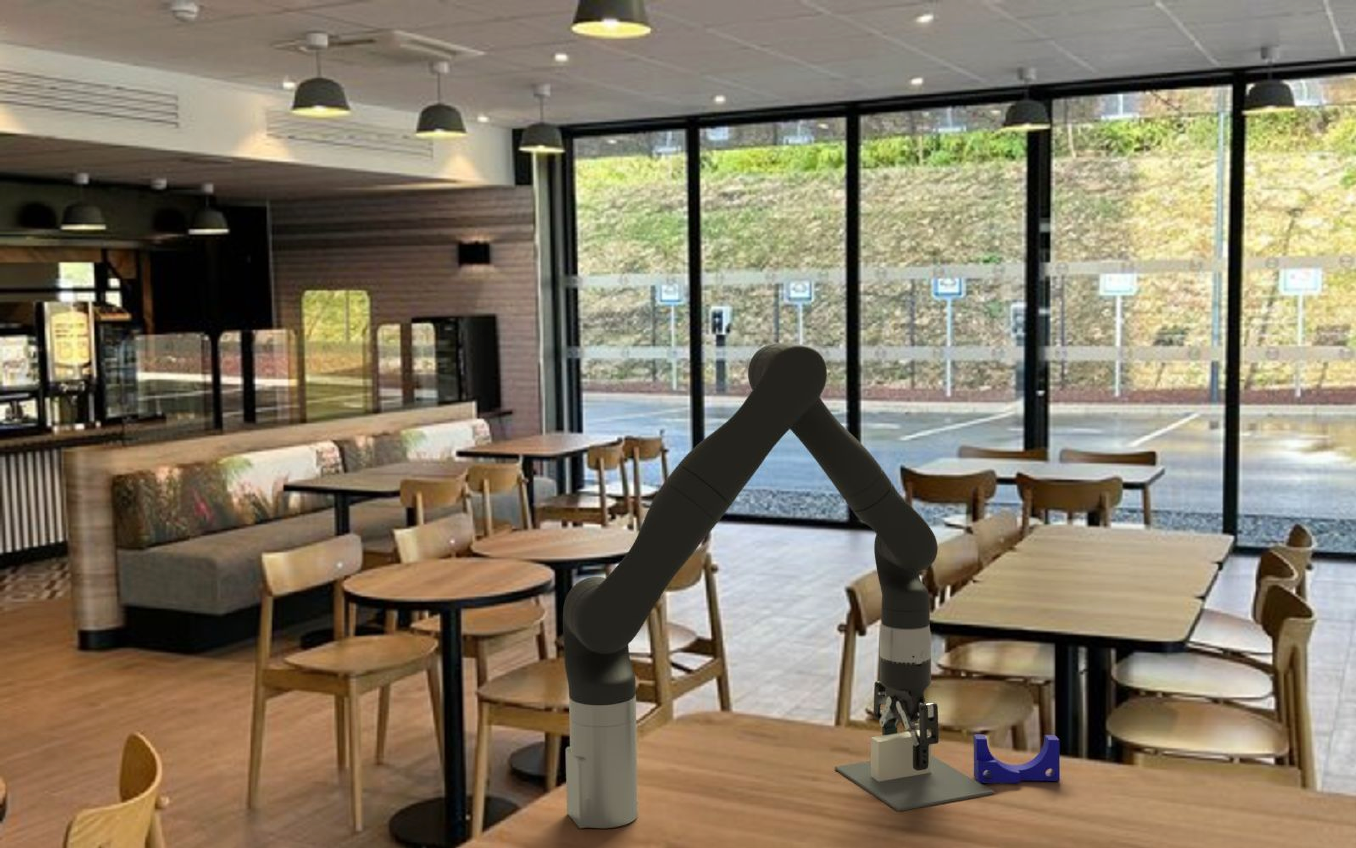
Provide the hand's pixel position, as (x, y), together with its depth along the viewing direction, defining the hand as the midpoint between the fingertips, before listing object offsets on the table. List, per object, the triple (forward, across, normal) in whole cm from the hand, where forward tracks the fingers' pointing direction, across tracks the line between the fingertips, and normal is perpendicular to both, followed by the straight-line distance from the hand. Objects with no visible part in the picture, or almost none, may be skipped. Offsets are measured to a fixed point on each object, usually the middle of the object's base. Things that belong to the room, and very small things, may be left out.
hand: (904, 760), depth 197 cm
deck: (+2, 0, -1) cm, 2 cm away
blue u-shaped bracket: (+3, +8, +14) cm, 17 cm away
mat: (+3, +2, 0) cm, 3 cm away
